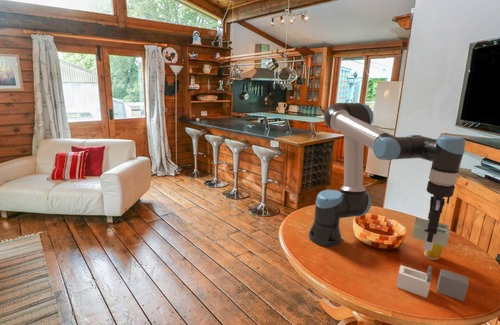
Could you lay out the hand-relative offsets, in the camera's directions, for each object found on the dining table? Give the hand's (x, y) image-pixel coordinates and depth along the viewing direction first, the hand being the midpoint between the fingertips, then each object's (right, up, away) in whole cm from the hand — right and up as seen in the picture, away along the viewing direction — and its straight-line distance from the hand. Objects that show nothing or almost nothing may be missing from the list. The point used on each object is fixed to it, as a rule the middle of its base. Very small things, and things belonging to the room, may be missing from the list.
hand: (427, 242), depth 100 cm
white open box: (-2, -18, +6) cm, 19 cm away
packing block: (+11, -19, +4) cm, 23 cm away
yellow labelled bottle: (+18, -14, +26) cm, 35 cm away
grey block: (0, +2, -1) cm, 3 cm away
